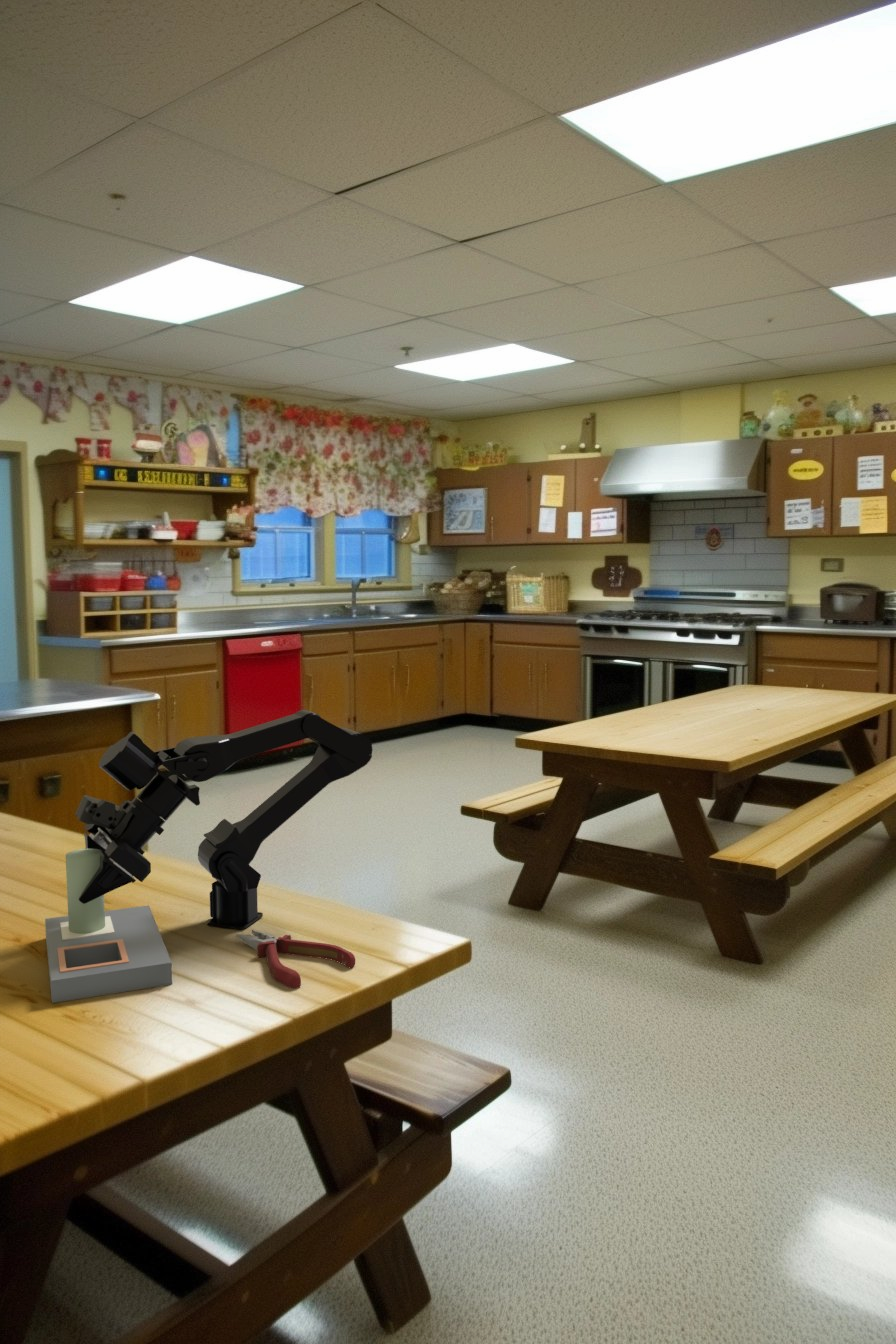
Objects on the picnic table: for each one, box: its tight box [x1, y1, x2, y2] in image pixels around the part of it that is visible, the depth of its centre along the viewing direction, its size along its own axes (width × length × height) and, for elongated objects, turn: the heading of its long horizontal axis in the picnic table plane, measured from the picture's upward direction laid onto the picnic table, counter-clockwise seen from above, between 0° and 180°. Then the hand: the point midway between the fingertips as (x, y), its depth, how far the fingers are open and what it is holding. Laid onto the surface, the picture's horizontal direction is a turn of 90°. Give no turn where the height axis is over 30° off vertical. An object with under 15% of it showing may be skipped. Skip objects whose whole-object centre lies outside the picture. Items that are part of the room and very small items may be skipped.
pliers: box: [235, 929, 356, 989], centre depth 145 cm, size 12×20×3 cm, turn 45°
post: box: [65, 848, 106, 934], centre depth 147 cm, size 5×5×11 cm
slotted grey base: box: [44, 904, 173, 1004], centre depth 144 cm, size 24×15×3 cm, turn 23°
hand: (75, 893), depth 147 cm, fingers open, 8 cm apart
